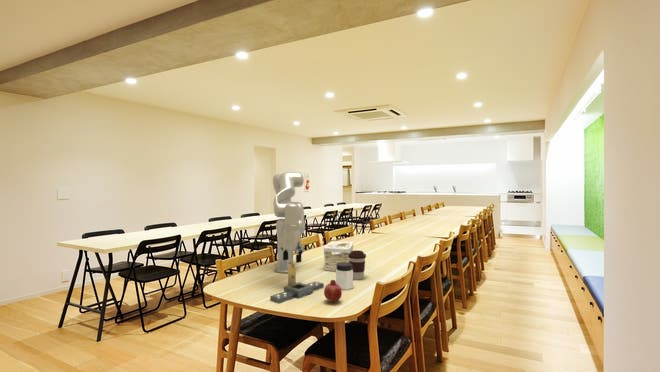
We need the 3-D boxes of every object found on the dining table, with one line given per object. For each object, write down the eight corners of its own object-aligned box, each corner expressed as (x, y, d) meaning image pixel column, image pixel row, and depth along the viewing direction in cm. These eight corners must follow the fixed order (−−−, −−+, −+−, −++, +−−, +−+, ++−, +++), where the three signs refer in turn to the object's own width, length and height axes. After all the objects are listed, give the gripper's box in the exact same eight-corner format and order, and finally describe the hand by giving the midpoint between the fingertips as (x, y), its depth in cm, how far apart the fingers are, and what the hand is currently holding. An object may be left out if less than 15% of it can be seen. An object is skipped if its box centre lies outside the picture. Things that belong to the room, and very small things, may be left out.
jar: (333, 289, 172) (333, 265, 172) (338, 284, 180) (338, 261, 180) (350, 290, 169) (350, 266, 169) (354, 285, 177) (354, 262, 177)
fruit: (333, 297, 159) (333, 276, 159) (345, 302, 153) (345, 280, 153) (320, 301, 154) (320, 279, 154) (332, 306, 148) (332, 283, 148)
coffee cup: (345, 279, 189) (345, 252, 189) (352, 274, 198) (352, 249, 198) (361, 281, 185) (361, 254, 185) (368, 277, 194) (368, 250, 193)
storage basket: (330, 262, 230) (330, 240, 230) (354, 263, 227) (354, 241, 227) (322, 271, 206) (322, 247, 206) (349, 272, 203) (349, 248, 203)
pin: (286, 286, 176) (286, 263, 176) (292, 284, 179) (292, 261, 179) (291, 287, 174) (291, 264, 174) (297, 286, 177) (297, 263, 177)
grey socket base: (267, 299, 157) (267, 292, 157) (312, 284, 180) (312, 278, 180) (282, 304, 150) (282, 296, 150) (326, 288, 173) (326, 281, 173)
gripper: (275, 227, 179) (275, 260, 179) (298, 229, 168) (298, 264, 167) (286, 226, 185) (286, 258, 184) (309, 228, 173) (309, 262, 173)
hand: (292, 261), depth 176 cm, fingers open, 9 cm apart
